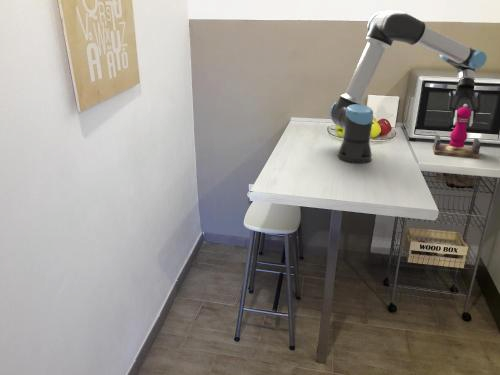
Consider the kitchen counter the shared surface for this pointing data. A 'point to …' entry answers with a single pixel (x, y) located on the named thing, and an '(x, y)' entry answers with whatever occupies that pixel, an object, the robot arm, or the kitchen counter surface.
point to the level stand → (456, 149)
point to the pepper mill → (460, 127)
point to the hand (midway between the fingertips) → (462, 124)
